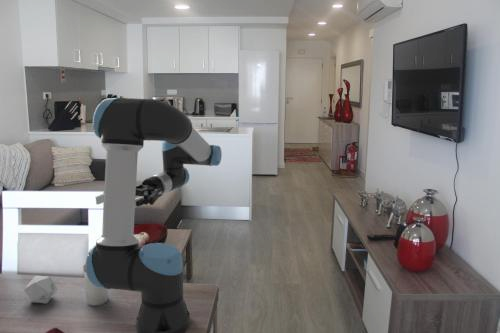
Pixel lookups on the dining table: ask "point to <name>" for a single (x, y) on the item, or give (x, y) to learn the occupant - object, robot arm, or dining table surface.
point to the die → (40, 289)
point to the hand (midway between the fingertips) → (111, 203)
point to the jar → (94, 292)
